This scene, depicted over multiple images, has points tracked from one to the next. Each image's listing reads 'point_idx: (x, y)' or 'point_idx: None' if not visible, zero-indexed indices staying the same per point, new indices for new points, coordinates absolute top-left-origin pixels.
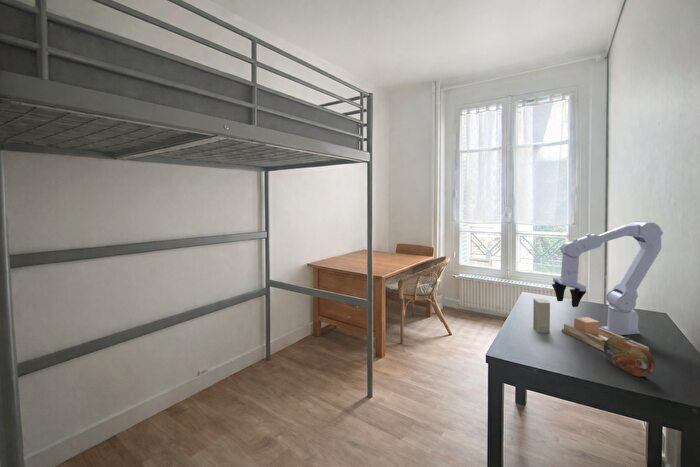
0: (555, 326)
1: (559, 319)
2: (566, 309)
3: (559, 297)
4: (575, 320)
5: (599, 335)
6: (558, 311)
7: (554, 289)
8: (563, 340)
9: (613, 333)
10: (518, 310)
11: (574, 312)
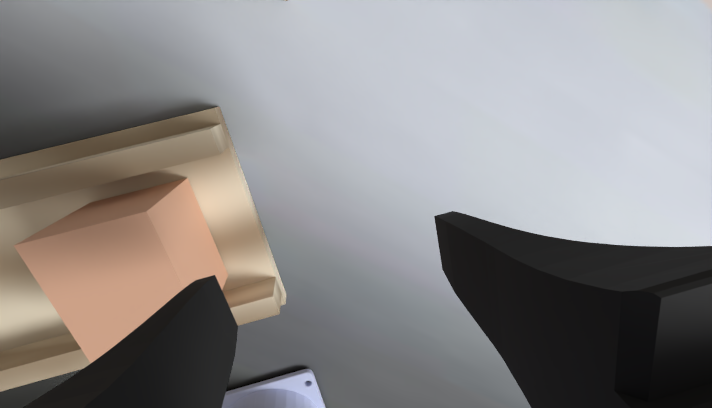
0: (327, 115)
1: None
2: None
3: (458, 252)
4: (139, 208)
5: None
6: None
7: (595, 247)
8: (2, 8)
9: (58, 368)
10: (687, 3)
11: None
